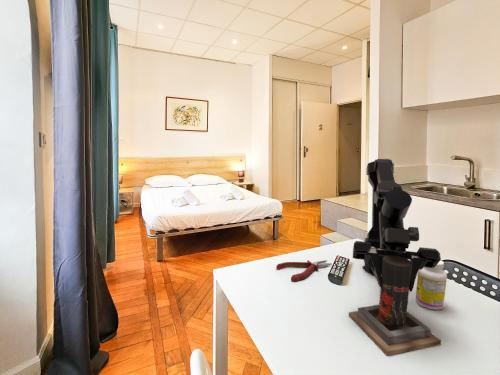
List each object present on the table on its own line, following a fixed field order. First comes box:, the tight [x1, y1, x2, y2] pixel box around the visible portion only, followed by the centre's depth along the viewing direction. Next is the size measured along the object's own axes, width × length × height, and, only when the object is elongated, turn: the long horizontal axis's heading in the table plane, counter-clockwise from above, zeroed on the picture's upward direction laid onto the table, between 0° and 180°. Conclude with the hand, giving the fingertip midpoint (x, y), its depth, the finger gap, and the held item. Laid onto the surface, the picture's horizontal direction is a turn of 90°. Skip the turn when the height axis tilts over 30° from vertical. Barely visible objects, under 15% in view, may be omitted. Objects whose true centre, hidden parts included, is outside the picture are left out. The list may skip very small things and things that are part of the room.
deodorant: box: [378, 255, 412, 327], centre depth 65 cm, size 6×6×15 cm
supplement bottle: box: [415, 259, 448, 311], centre depth 76 cm, size 7×7×13 cm
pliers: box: [276, 259, 333, 283], centre depth 98 cm, size 12×20×3 cm, turn 116°
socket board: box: [348, 304, 442, 357], centre depth 66 cm, size 14×14×3 cm
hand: (395, 288), depth 64 cm, fingers closed on deodorant, 6 cm apart
